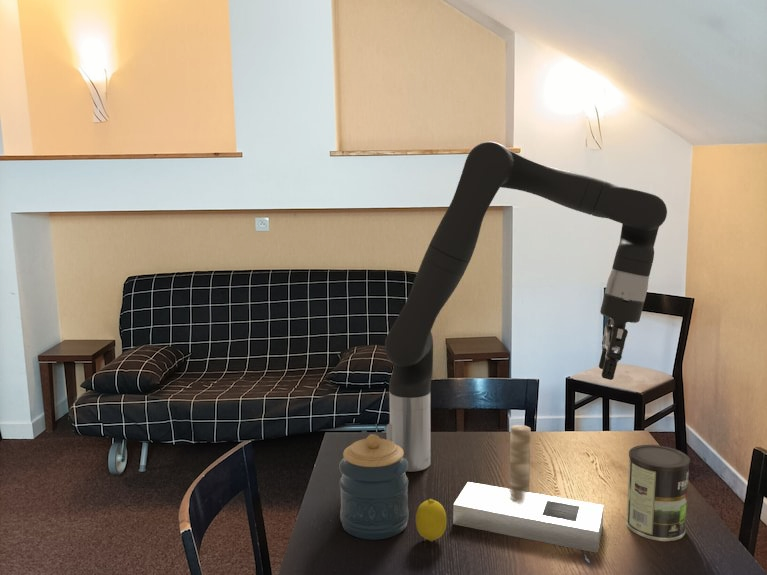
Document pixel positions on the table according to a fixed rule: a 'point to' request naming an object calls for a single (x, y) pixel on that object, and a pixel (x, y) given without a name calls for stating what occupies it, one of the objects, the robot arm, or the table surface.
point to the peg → (520, 458)
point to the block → (530, 516)
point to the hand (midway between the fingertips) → (605, 373)
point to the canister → (374, 489)
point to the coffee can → (657, 492)
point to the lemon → (431, 520)
